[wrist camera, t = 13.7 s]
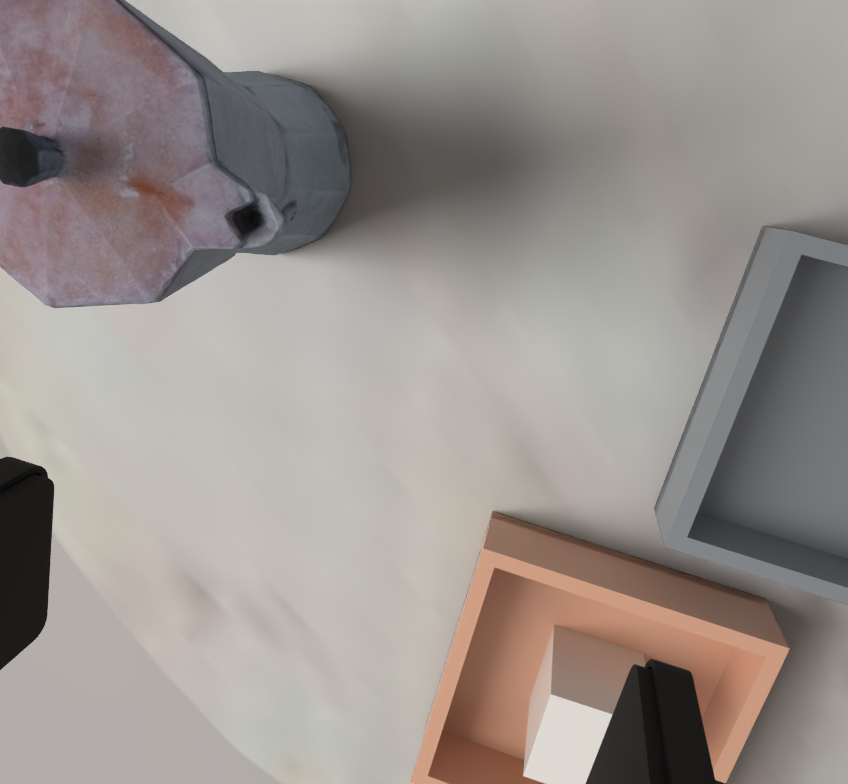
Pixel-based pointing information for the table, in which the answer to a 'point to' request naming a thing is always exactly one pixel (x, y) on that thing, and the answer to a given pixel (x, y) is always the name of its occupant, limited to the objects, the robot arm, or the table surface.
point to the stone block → (573, 704)
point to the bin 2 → (772, 426)
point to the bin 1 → (597, 617)
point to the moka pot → (148, 157)
